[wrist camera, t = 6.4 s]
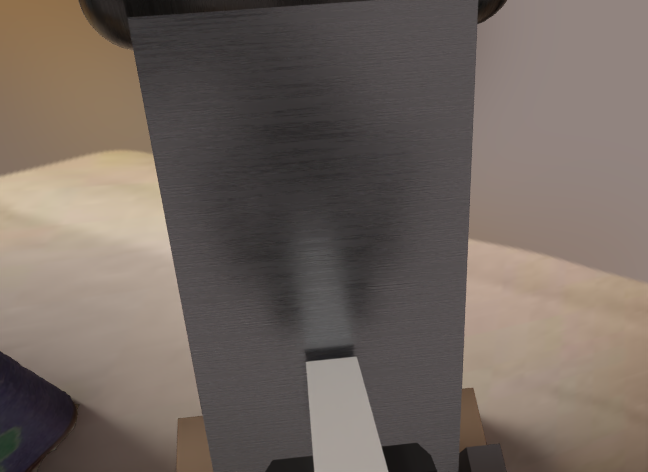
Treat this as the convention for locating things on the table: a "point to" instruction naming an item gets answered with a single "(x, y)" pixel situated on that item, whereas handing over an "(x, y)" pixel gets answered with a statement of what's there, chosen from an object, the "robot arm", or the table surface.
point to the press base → (474, 454)
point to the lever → (313, 204)
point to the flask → (30, 417)
